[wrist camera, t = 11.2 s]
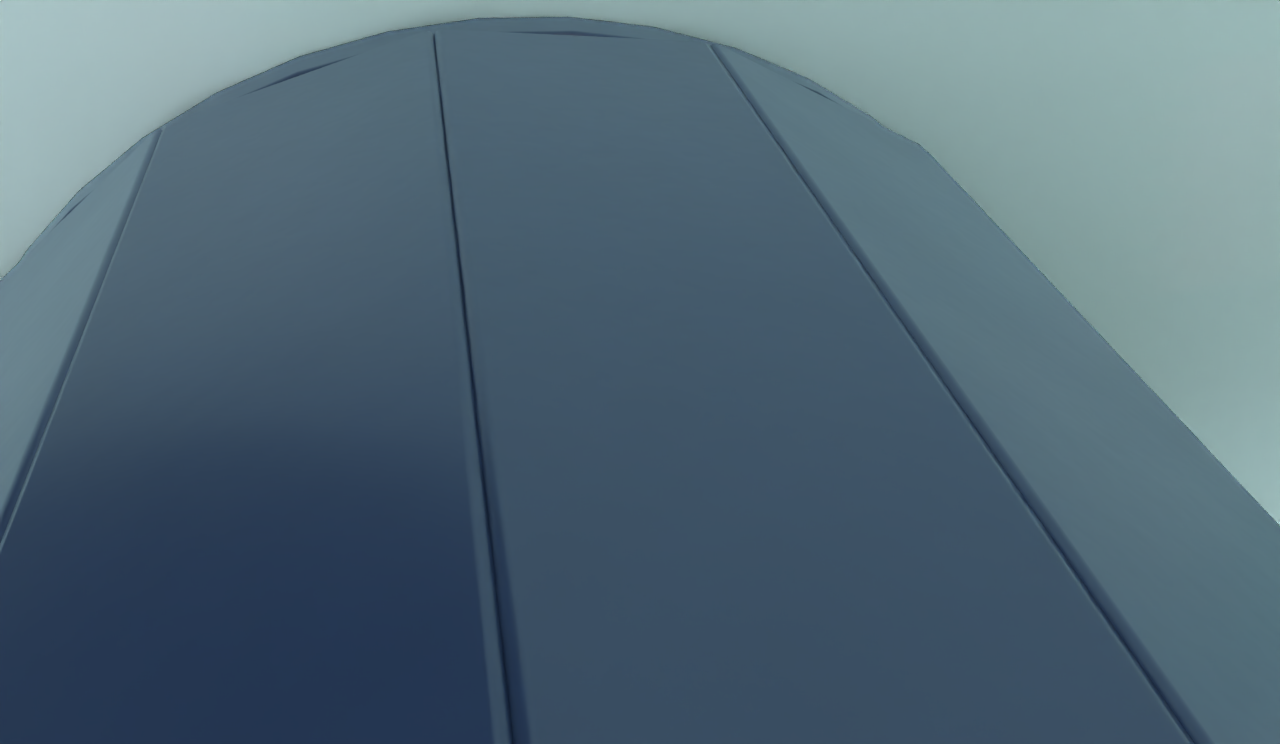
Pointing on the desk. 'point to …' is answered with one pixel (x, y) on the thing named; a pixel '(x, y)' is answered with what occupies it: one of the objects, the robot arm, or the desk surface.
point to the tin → (589, 431)
